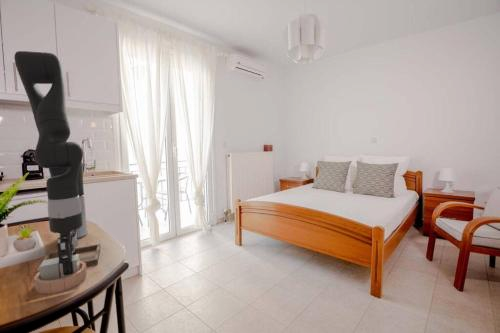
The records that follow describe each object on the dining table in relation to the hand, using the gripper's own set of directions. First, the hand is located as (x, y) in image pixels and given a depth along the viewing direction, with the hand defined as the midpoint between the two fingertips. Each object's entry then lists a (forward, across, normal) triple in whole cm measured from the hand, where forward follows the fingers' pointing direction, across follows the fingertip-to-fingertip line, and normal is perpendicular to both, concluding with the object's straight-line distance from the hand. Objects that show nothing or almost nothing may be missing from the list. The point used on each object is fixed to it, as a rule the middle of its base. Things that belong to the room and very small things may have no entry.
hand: (70, 268), depth 72 cm
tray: (+4, -13, -2) cm, 14 cm away
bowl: (+4, 0, -2) cm, 4 cm away
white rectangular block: (+3, 0, 0) cm, 3 cm away
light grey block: (+3, 0, -4) cm, 5 cm away
